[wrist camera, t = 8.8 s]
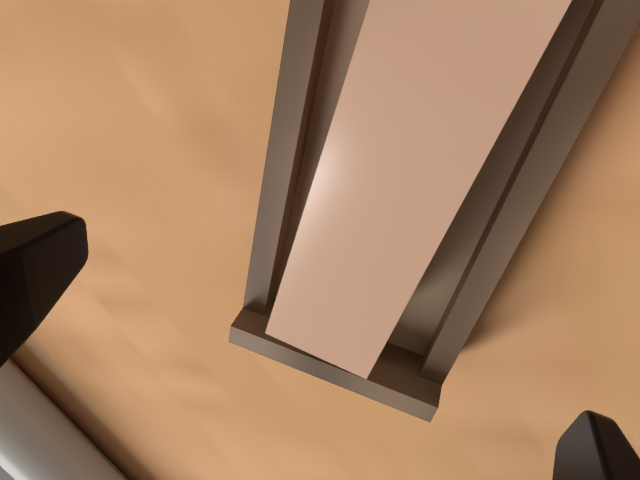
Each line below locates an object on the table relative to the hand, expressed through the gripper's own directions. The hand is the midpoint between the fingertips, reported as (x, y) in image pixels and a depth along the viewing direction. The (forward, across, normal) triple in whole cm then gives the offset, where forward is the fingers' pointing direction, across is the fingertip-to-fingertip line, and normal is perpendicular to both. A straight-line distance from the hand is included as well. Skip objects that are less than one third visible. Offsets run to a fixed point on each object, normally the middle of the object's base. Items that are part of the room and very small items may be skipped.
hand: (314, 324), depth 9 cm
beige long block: (+10, 0, 0) cm, 10 cm away
